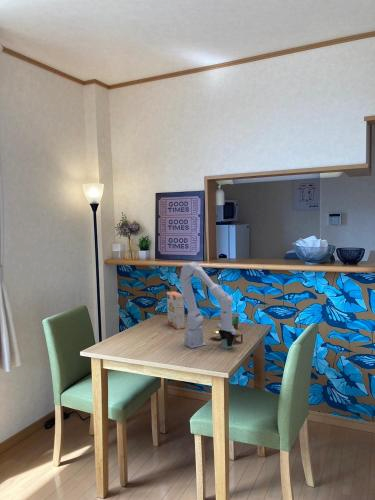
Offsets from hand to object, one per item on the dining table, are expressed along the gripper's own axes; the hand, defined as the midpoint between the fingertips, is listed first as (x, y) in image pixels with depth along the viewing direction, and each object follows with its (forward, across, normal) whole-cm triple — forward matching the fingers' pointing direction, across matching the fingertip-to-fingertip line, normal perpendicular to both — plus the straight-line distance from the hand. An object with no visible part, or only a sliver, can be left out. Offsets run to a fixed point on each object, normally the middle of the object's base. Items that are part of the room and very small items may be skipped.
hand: (227, 344), depth 213 cm
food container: (+2, +27, -19) cm, 33 cm away
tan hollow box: (+1, +5, -8) cm, 9 cm away
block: (+1, 0, 0) cm, 1 cm away
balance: (+1, +15, -8) cm, 17 cm away
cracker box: (+2, +51, +4) cm, 51 cm away
